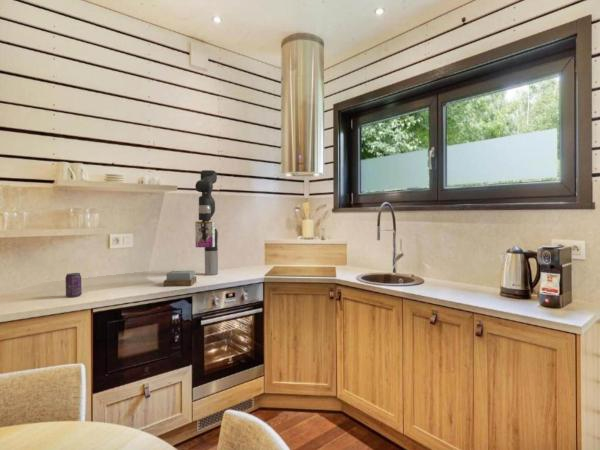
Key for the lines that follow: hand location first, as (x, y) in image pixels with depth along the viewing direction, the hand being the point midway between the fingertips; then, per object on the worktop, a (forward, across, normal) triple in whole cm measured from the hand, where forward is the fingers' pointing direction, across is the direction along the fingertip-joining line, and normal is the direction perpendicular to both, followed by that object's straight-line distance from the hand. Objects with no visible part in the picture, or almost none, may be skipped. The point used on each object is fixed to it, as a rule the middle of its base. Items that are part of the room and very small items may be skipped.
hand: (205, 239), depth 225 cm
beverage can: (+28, +31, -63) cm, 76 cm away
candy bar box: (+5, 0, 0) cm, 5 cm away
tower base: (+28, +3, -15) cm, 32 cm away
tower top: (+24, +3, -15) cm, 28 cm away
